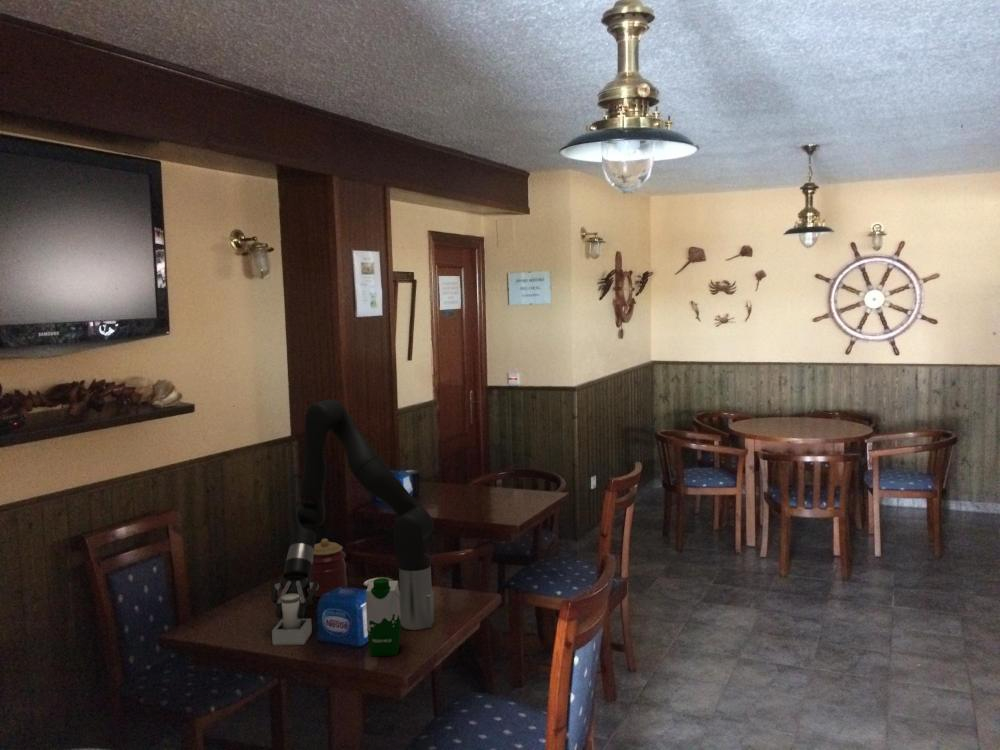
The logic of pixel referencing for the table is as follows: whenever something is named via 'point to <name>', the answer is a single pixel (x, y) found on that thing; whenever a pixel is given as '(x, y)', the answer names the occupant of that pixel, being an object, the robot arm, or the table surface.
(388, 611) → the milk carton
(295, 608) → the white cylinder
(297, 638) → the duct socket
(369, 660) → the table surface
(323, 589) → the canister
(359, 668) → the table surface
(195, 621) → the table surface
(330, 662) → the table surface
